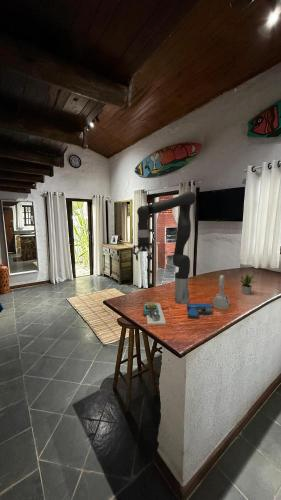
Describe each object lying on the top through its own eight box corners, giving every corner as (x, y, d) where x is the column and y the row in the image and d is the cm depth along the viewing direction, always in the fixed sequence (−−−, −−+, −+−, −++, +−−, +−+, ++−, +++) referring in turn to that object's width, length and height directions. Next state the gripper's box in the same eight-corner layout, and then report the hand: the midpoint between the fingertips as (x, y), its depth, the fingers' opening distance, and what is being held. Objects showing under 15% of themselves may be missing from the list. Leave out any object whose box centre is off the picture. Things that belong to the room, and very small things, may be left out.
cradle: (157, 309, 133) (157, 304, 133) (158, 314, 125) (158, 310, 124) (143, 309, 133) (143, 305, 133) (144, 315, 125) (144, 310, 124)
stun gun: (216, 315, 119) (210, 302, 133) (188, 314, 120) (185, 302, 135) (215, 321, 120) (209, 308, 134) (188, 320, 121) (185, 308, 136)
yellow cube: (155, 312, 127) (155, 304, 126) (147, 313, 126) (147, 305, 126) (154, 309, 132) (154, 301, 131) (146, 309, 132) (146, 302, 131)
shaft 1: (153, 309, 133) (153, 303, 133) (147, 309, 133) (147, 303, 133) (152, 304, 141) (152, 298, 141) (146, 304, 141) (146, 298, 141)
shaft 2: (148, 315, 124) (148, 309, 123) (154, 314, 125) (154, 308, 125) (154, 321, 116) (154, 314, 116) (160, 320, 118) (160, 313, 117)
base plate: (159, 304, 143) (159, 303, 143) (165, 324, 115) (165, 322, 115) (144, 304, 143) (144, 303, 143) (147, 324, 115) (147, 323, 115)
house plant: (262, 297, 152) (263, 275, 150) (243, 297, 152) (244, 275, 150) (252, 290, 166) (253, 270, 164) (234, 291, 166) (235, 271, 164)
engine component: (211, 307, 136) (227, 310, 131) (211, 276, 134) (228, 278, 128) (215, 301, 146) (230, 304, 140) (215, 272, 143) (231, 274, 138)
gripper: (132, 237, 137) (133, 261, 139) (154, 236, 137) (154, 261, 139) (132, 236, 144) (133, 259, 146) (153, 235, 145) (153, 259, 147)
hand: (143, 260), depth 143 cm, fingers open, 8 cm apart
